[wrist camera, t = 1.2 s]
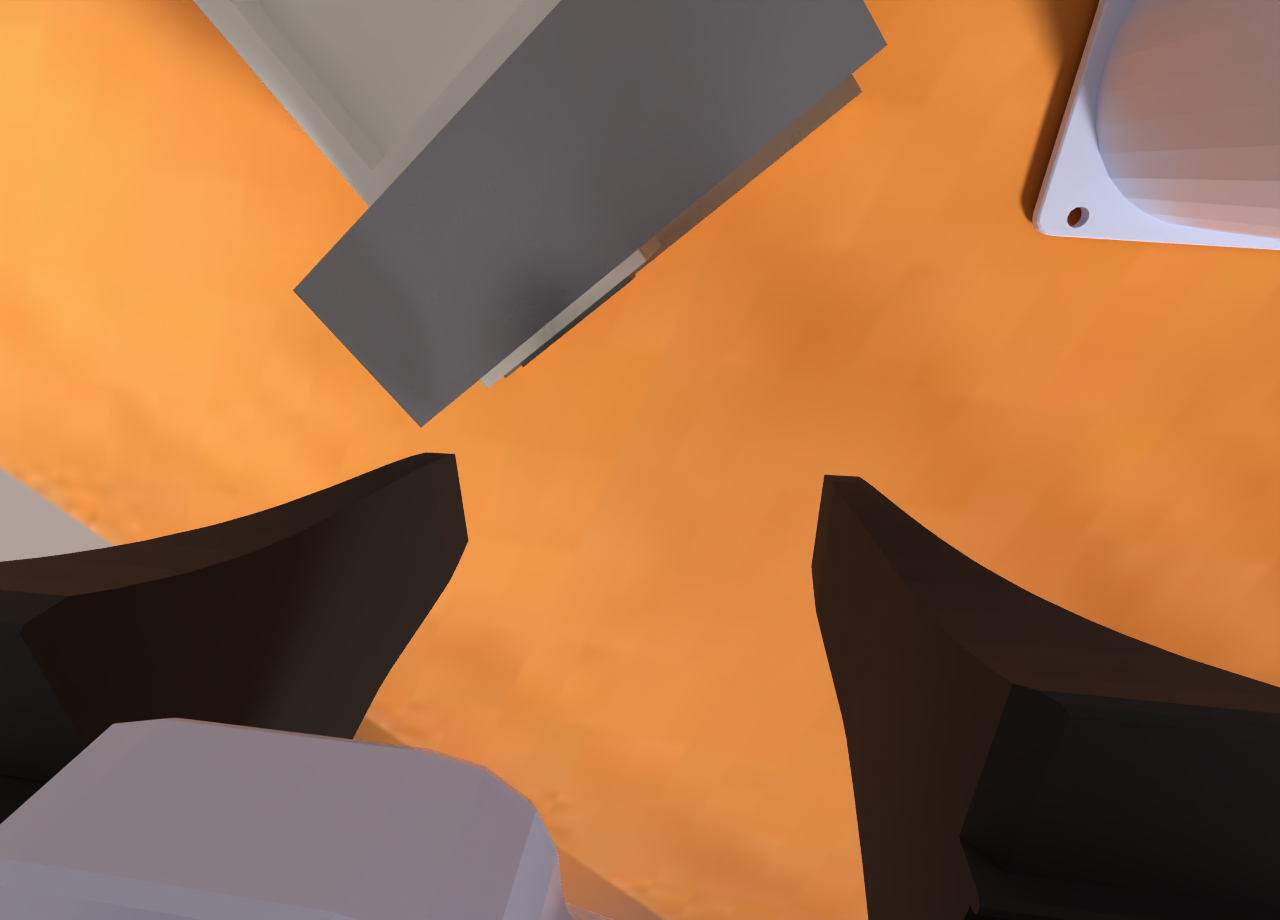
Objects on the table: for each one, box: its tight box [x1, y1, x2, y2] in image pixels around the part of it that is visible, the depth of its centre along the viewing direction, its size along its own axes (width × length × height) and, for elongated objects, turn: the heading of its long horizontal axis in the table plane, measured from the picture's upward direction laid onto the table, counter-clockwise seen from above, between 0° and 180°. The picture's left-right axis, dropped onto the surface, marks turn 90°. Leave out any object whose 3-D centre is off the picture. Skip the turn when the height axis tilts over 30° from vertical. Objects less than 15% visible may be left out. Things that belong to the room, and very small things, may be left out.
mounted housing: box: [293, 0, 887, 427], centre depth 15 cm, size 13×5×7 cm, turn 128°
